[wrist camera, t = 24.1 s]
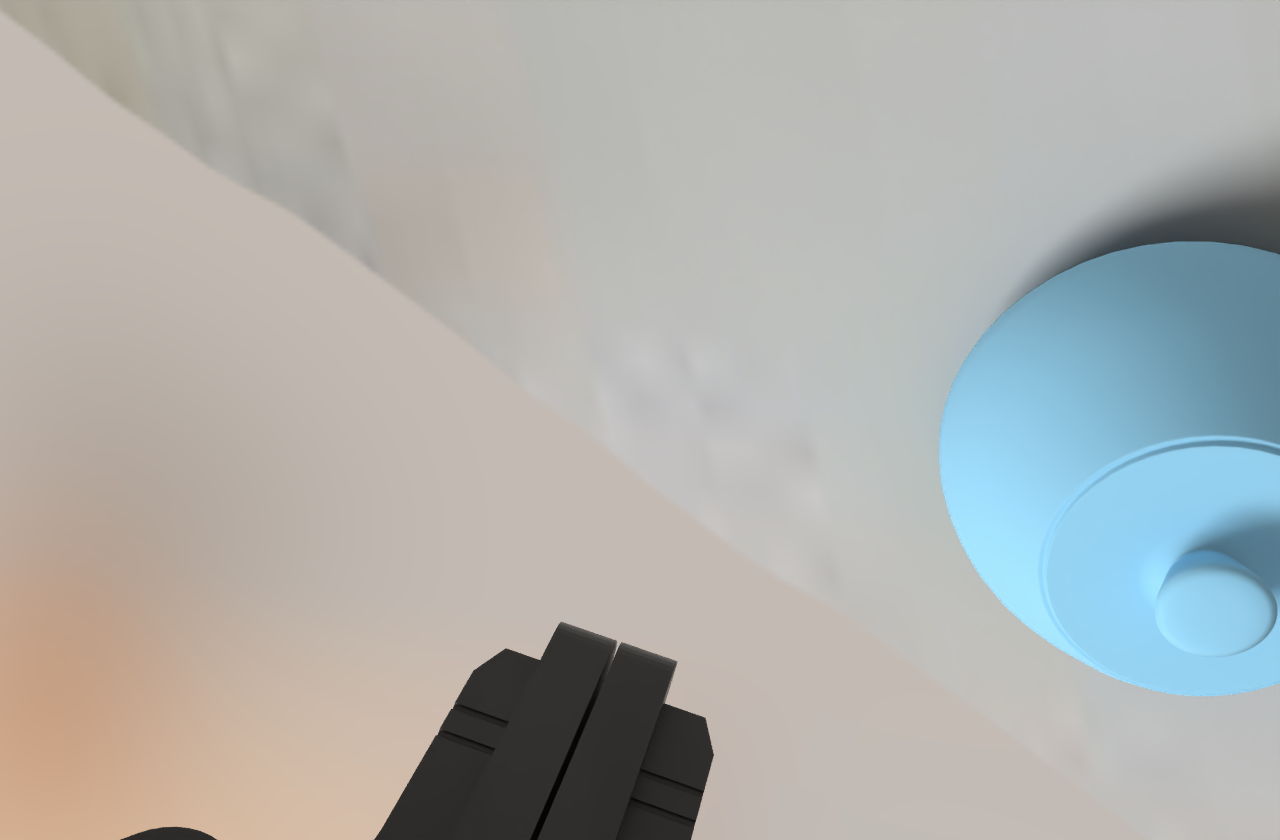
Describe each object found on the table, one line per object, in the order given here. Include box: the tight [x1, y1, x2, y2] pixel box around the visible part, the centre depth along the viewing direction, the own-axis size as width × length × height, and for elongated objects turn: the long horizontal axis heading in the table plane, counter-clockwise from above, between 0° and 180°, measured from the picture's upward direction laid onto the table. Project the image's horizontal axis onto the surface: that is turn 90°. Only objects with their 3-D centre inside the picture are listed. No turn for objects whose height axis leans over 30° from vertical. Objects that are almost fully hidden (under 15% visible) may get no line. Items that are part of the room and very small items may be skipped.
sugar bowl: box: [939, 242, 1280, 696], centre depth 36 cm, size 15×15×12 cm
